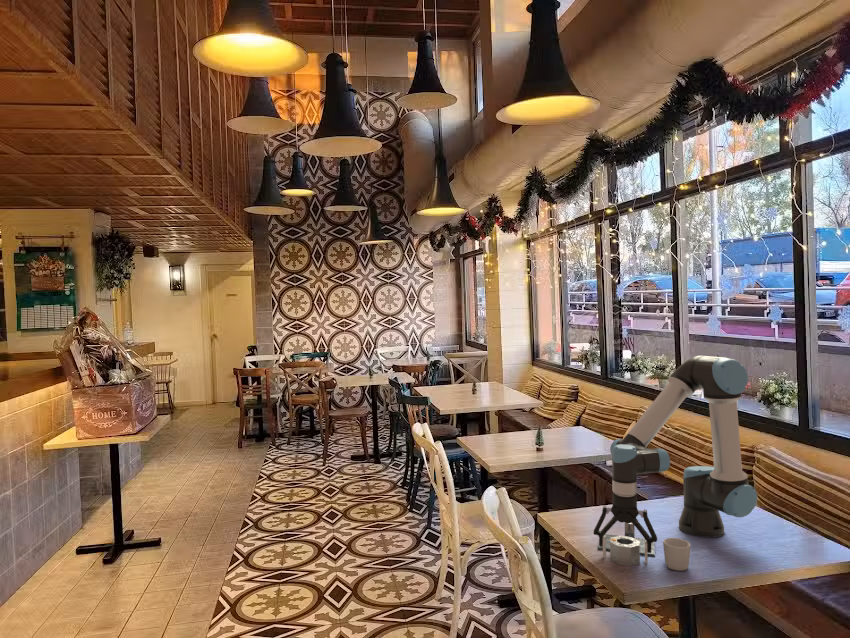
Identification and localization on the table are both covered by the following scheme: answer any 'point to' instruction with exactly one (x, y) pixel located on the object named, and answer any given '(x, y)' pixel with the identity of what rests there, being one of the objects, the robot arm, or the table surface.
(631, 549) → the ring
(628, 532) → the plate with peg
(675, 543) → the cup
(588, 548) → the table surface
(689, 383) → the robot arm
